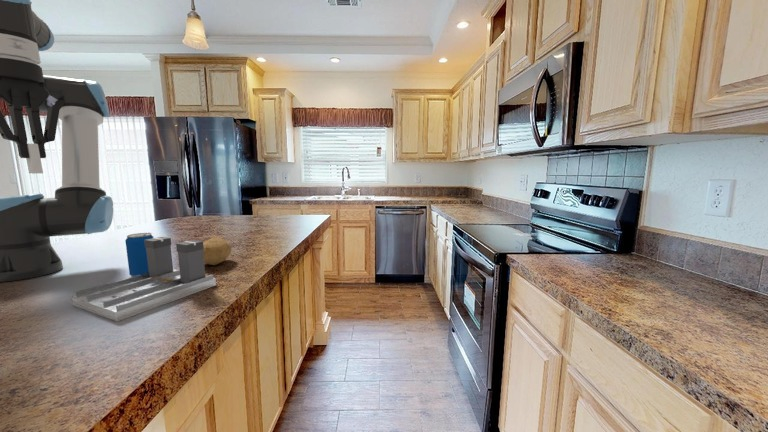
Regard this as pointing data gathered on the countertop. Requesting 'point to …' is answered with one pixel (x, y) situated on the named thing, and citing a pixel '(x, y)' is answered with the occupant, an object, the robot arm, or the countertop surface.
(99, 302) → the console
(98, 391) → the countertop surface
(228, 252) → the potato
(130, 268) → the beverage can
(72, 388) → the countertop surface
